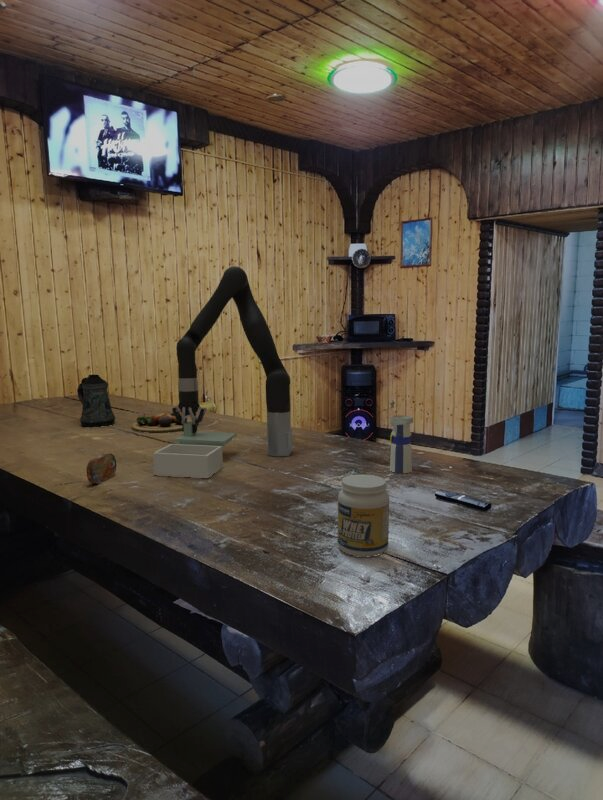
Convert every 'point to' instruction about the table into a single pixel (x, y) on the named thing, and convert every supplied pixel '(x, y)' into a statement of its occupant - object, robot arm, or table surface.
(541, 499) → the table surface
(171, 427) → the wooden plate with food
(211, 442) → the lid
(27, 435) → the table surface
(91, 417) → the beer stein
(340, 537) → the supplement tub
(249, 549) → the table surface
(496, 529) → the table surface
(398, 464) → the water bottle
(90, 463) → the tin
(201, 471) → the parts tub
